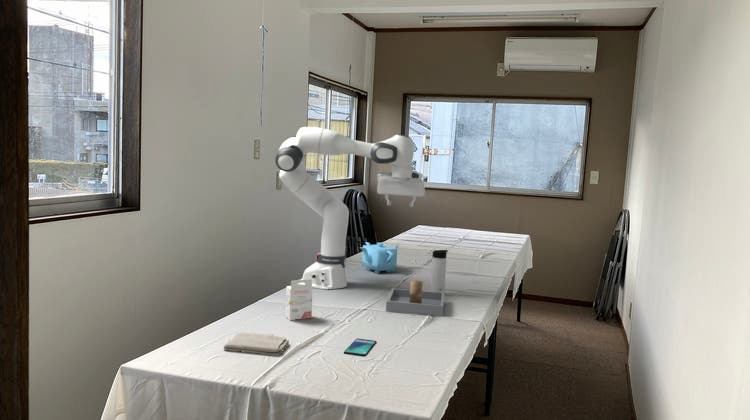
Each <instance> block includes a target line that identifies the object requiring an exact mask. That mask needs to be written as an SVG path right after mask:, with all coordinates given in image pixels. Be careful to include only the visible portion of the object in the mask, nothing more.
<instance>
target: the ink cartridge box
mask: <svg viewBox="0 0 750 420" xmlns="http://www.w3.org/2000/svg"><path fill="white" fill-rule="evenodd" d="M301 282H302V283H305V285H298V283H301ZM285 290H286V291H285V318H286V317H287V318H288V319H287V318H286V319H287V320H289V321H290V320H292V321H296V320H295V319H302V320H307V319H306V318H311V319H312V317H313V316H312V315H313V313H312V310H313V309H312V308H313V288H312V279H308V280H300V279H296V280H295V279H293V280H291V281H290V285H287V286H286V289H285Z"/></svg>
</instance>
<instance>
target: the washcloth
mask: <svg viewBox="0 0 750 420" xmlns="http://www.w3.org/2000/svg"><path fill="white" fill-rule="evenodd" d="M289 343H290V341H289V339H287V338H286V337H284V336H281V337H280V336H278V335H277V336H275V335H274V334H271V333H270V334H264V333H263V334H262V333H254V332H253V333H252V332H251V333H250V332H249V333H248V332H238V333H236V334H235V335H233V338H232V339H230V340H228V342H226V343H225V344H224V346H223V350H224V351H225V352H235V351H243V352H242V353H246V352H252V353H251V354H256V353H262V354H261V355H266V354H269V355H268V356H275V355H278V356H279V355H280V354H282V353H283V352H282V350H283V349H284V348H285V347H286V346H287V347H288V345H289ZM287 347H286V348H287ZM286 348H285V349H286ZM285 349H284V350H285ZM227 350H229V351H227ZM284 350H283V351H284ZM281 352H282V353H281ZM279 353H280V354H279Z"/></svg>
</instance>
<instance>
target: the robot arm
mask: <svg viewBox="0 0 750 420" xmlns="http://www.w3.org/2000/svg"><path fill="white" fill-rule="evenodd" d="M414 145H415V144H414V140H413V138H411V137H410V136H408V135H403V134H395V135H393V136H391V137H390V138H387V139H386V140H385V139H384V140H383V141H382V140H381V141H378V142H375V143H372V142H366V141H361V140H356V139H352V138H350V137H348V136H346V135H344V134H342V133H340V132H337V131H335V130H332V129H329V128H323V127H318V126H303V127H300V128H299V130H298V131H297V133H296V135H291V136H289V137H287V138H286V139H285V141H283V142H282V143H281V144H280V146H279V149H278V151H277V152H276V154H275V158H274V161H275V165H276V167H277V168H278V169H279V173H278V177H279V180H280V181H281V182H282V183H283V185H284V186H286V188H287V189H288V190H289V191H290V192H292V194H294V195H295V196H296V197H297V198H299V199H300V201H302V202H303V203H304V204H305V205H307V206H308V207H309V208H311V209H312V210H313V212H316V214H318V215H319V216H320V217H321V218H323V220H322V221H323V222H322V229H321V230H322V231H321V232H322V233H321V239H320V252H318V253H317V254H316V257H315V262H314V263H312V264H311V265H310V266H308V267H307V268H305V269H304V271H303V275H302V278H300V279H299V280H308V279H312V289H321V290H328V289H329V290H334V289H335V290H336V289H343V288H346V287H347V286H348V283H347V278H346V277H347V276H346V266H347V255H346V242H347V233H348V226H349V216H350V212H349V208H348V205H346V204H345V203H344V202H343V201H341V200H340V199H339V198H338V197H336V196H335V195H334V194H333V193H332V192H331V191H330V190H329V189H328V188H326V187H325V186H324V185H323V184H322V183H321V182H320V181H319V180H317V179H316V178H314V177H313V176H312V175H311V174H310V173H308V172H307V170H305V169H304V168H303V166H302V162H303V161H304V159H305V157H306V156H307V154H308V153H312V154H318V155H323V156H340V155H341V156H342V155H355V156H360V157H364V158H365V157H366V158H369V159H371V160H372V161H373V162H374V163H375V164H377V165H383V166H385V165H389V164H391V172H384V171H383V172H380V173H377V177H376V179H377V180H376V181H377V182H378V183H377V188H376V192H377V194H378V195H384V198H385V200H386V203H387V204H386V206H392V200H389V197H390V195H391V196H403V197H404V196H407V197H412V201H411V202H410V201H409V207H410V208H412V207H414V202H415V201H416V200H417V197H422V198H423V197H424V196H425V193H426V189H425V181H424V180H423V173H421V172H418V171H417V170H414V169H413V168H414V165H413V159H414V151H415V150H414ZM298 285H305V283H302V282H301V283H298ZM329 290H328V291H329Z"/></svg>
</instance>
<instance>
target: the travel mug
mask: <svg viewBox="0 0 750 420" xmlns="http://www.w3.org/2000/svg"><path fill="white" fill-rule="evenodd" d="M447 253H448V249H436V250H433V251H432V256H431V257H432V258H431V271H430V283H429V285H430V286H429V287H430V288H429V291H430V292H442V293H444V294H445V288H446V287H445V286H446V285H445V284H446V270H447V269H446V268H447Z"/></svg>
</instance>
